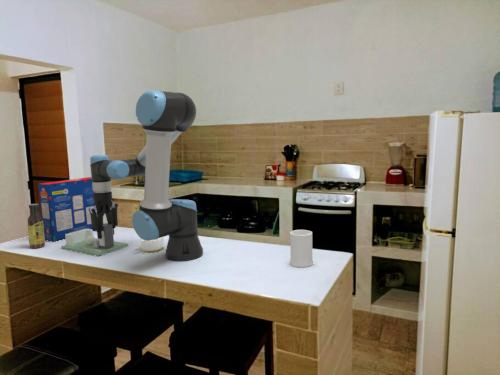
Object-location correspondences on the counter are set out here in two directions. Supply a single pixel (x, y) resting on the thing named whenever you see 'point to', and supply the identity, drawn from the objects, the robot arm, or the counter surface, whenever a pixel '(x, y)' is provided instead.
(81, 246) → the pitch
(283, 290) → the counter surface
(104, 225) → the striker
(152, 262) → the counter surface
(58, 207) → the pasta box
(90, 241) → the ball
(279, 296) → the counter surface
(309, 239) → the mug
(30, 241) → the sauce bottle
